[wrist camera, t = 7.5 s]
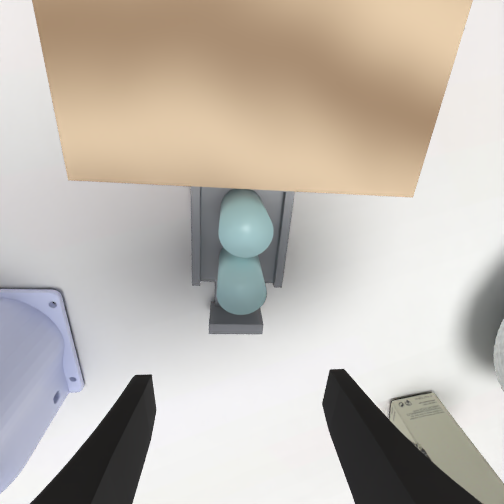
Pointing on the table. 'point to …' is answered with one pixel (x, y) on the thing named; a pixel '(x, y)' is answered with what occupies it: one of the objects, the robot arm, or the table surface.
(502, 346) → the cereal bowl
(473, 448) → the box
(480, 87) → the table surface
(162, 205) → the table surface
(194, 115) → the small wooden stool
